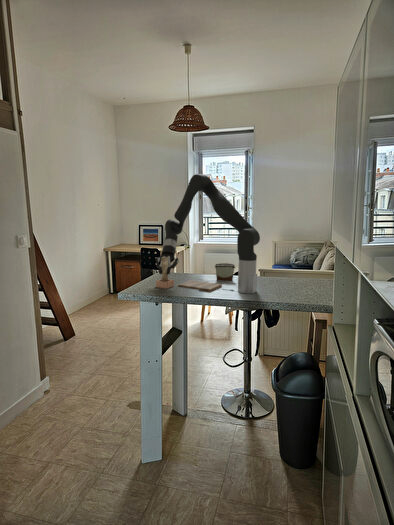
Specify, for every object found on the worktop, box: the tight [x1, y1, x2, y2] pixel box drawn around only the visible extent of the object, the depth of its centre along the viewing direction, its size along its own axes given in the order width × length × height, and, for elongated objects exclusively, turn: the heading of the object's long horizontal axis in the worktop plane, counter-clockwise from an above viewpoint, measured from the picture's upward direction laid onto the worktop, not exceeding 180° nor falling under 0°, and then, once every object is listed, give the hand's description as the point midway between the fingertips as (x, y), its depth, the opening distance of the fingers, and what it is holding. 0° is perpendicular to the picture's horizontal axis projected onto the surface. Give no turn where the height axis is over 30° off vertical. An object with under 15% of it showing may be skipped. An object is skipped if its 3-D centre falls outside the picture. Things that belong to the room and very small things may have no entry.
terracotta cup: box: [155, 278, 175, 289], centre depth 194 cm, size 7×7×4 cm
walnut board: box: [177, 279, 223, 293], centre depth 196 cm, size 20×14×2 cm
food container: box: [214, 262, 236, 282], centre depth 214 cm, size 12×6×10 cm, turn 84°
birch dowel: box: [161, 257, 169, 282], centre depth 193 cm, size 4×4×16 cm
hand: (163, 273), depth 192 cm, fingers closed on birch dowel, 3 cm apart
